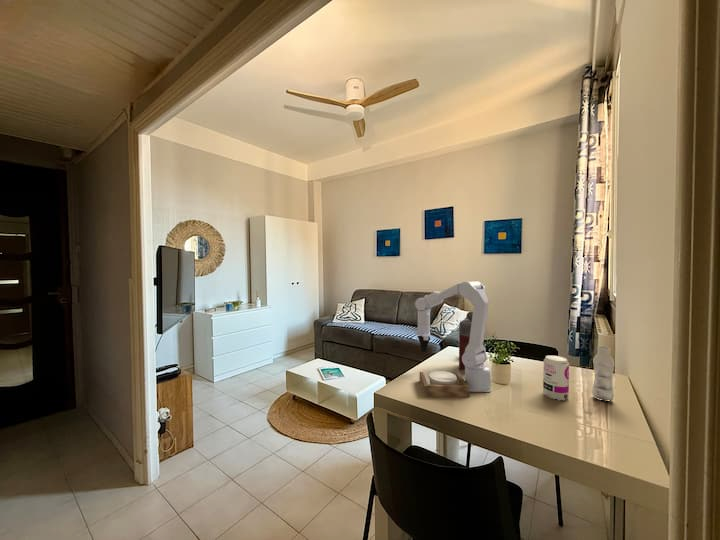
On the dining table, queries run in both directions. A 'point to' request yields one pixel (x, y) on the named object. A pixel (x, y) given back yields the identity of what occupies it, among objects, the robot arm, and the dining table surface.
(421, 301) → the robot arm
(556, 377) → the supplement can
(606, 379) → the plastic bottle
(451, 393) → the shallow wooden tray
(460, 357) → the dark red bottle
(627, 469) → the dining table surface
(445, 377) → the ramekin
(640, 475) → the dining table surface
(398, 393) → the dining table surface
